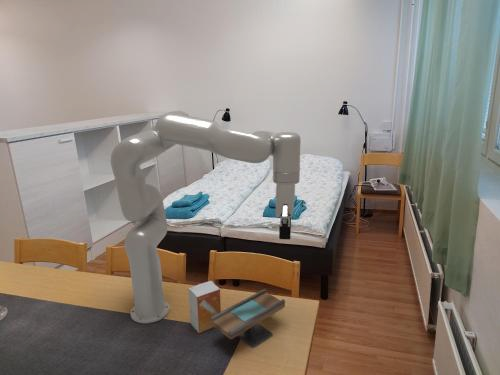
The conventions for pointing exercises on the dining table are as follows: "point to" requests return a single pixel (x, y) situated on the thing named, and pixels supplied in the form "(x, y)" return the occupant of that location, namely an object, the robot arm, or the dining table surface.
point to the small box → (203, 305)
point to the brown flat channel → (246, 313)
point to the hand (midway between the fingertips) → (285, 232)
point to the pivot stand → (255, 335)
